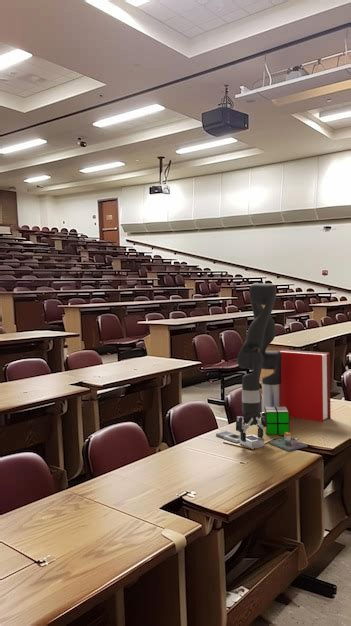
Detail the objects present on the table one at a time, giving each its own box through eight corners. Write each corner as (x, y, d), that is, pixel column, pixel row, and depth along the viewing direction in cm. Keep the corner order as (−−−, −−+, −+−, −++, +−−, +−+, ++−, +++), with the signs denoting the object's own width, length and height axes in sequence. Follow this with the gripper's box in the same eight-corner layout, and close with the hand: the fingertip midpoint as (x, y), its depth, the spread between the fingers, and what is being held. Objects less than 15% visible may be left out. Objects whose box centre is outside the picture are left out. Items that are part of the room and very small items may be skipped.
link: (239, 443, 199) (239, 436, 199) (252, 441, 202) (251, 434, 202) (251, 449, 192) (251, 441, 192) (264, 446, 195) (264, 439, 195)
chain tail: (215, 436, 211) (215, 433, 210) (226, 433, 214) (226, 430, 214) (236, 443, 200) (236, 440, 200) (247, 439, 204) (247, 437, 204)
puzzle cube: (286, 428, 220) (286, 406, 219) (289, 434, 210) (289, 412, 209) (264, 428, 221) (263, 406, 220) (266, 434, 211) (265, 412, 210)
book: (330, 418, 233) (329, 352, 232) (323, 422, 227) (322, 354, 226) (280, 410, 252) (279, 349, 250) (272, 413, 246) (271, 351, 244)
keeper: (268, 443, 199) (268, 431, 198) (286, 439, 204) (286, 427, 203) (288, 451, 188) (288, 438, 188) (307, 446, 193) (307, 434, 193)
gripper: (259, 396, 203) (259, 434, 203) (231, 400, 196) (232, 440, 196) (270, 399, 196) (271, 438, 197) (242, 404, 189) (243, 445, 190)
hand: (251, 439), depth 197 cm, fingers open, 8 cm apart
